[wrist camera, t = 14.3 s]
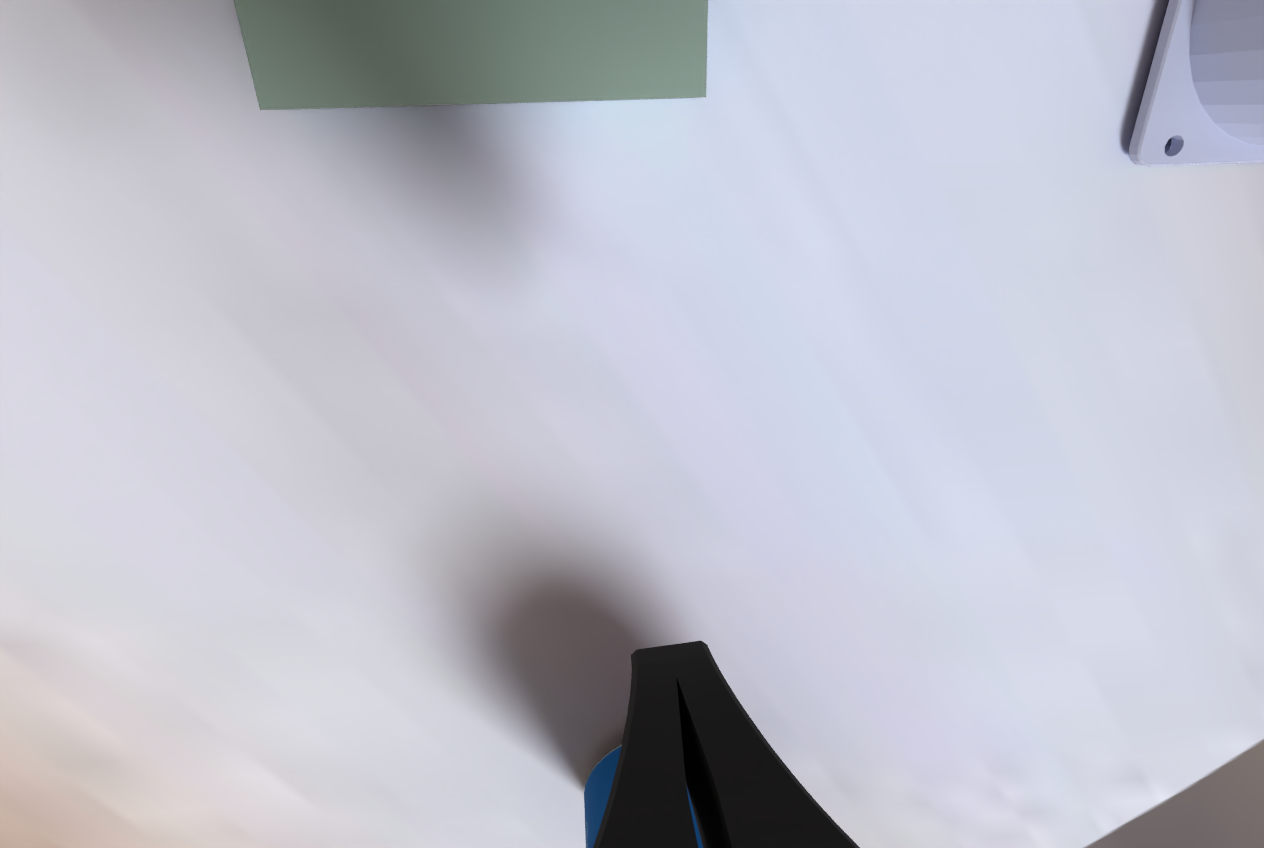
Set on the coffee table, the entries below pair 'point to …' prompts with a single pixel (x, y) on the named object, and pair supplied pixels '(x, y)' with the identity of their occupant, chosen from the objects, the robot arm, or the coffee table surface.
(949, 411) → the coffee table surface
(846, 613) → the coffee table surface
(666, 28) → the vise
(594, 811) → the beverage can
